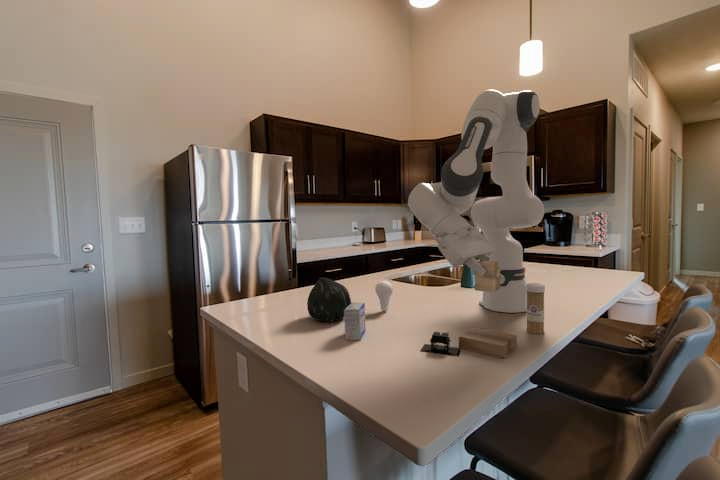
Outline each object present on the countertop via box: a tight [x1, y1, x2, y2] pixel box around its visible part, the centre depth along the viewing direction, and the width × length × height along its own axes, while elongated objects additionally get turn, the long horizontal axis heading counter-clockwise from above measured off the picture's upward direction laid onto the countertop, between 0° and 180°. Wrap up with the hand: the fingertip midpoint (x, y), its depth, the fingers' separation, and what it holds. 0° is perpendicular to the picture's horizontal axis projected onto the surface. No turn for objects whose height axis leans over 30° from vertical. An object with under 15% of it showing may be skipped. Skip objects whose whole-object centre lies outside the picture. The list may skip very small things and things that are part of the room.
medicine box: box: [343, 302, 367, 341], centre depth 99 cm, size 8×4×9 cm, turn 168°
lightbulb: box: [374, 280, 394, 313], centre depth 122 cm, size 6×6×11 cm
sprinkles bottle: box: [525, 282, 546, 335], centre depth 97 cm, size 5×5×14 cm
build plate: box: [419, 331, 462, 358], centre depth 87 cm, size 12×7×5 cm, turn 66°
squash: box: [306, 277, 352, 323], centre depth 116 cm, size 14×15×15 cm
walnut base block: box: [458, 326, 518, 360], centre depth 87 cm, size 9×11×3 cm
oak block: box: [473, 260, 500, 292], centre depth 86 cm, size 4×4×7 cm
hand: (489, 272), depth 85 cm, fingers closed on oak block, 4 cm apart
